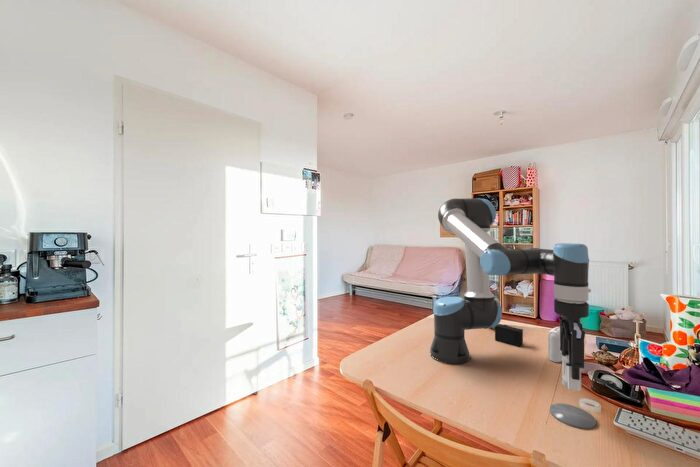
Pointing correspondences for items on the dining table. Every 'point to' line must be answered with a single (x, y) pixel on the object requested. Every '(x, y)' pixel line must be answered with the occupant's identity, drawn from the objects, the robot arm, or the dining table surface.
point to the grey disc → (572, 416)
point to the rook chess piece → (566, 373)
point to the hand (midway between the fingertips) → (571, 384)
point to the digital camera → (509, 335)
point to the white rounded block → (554, 345)
